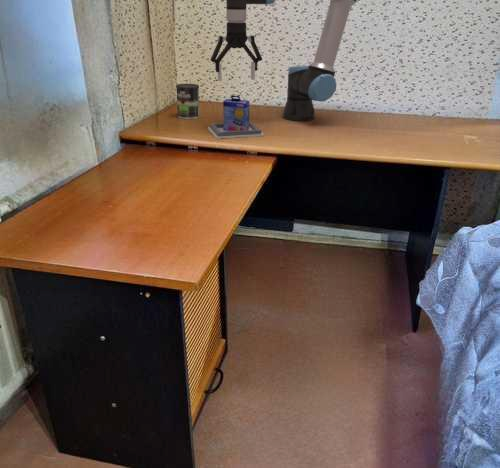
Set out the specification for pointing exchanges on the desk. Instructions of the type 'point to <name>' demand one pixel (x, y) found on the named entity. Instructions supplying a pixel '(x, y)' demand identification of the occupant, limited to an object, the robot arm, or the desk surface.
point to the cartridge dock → (220, 133)
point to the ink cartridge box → (235, 114)
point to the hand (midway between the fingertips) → (236, 80)
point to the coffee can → (188, 101)
